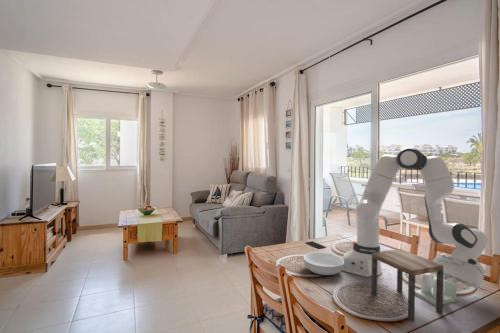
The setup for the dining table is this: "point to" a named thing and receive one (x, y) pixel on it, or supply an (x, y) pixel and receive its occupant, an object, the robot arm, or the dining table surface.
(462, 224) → the robot arm
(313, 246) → the smartphone
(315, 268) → the serving bowl
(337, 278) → the dining table surface
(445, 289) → the glasses tray
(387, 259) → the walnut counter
